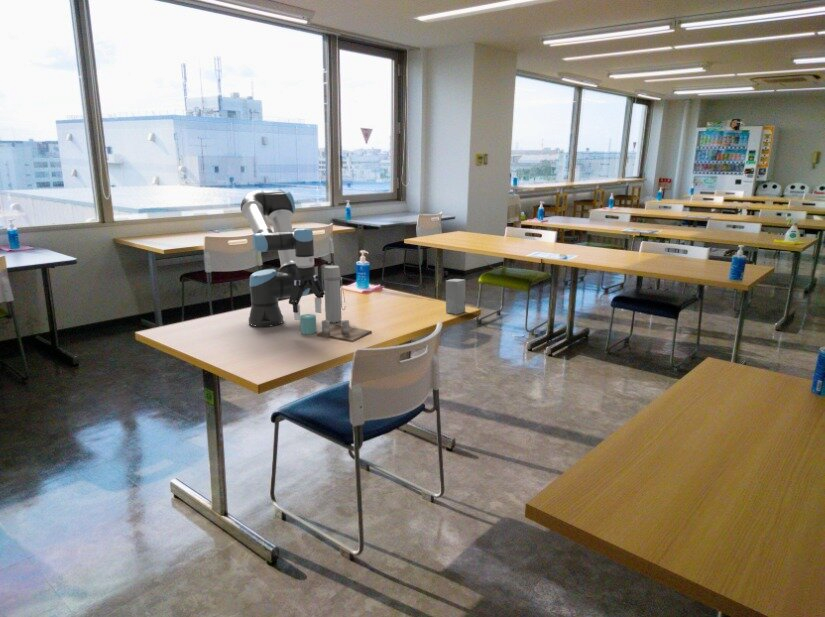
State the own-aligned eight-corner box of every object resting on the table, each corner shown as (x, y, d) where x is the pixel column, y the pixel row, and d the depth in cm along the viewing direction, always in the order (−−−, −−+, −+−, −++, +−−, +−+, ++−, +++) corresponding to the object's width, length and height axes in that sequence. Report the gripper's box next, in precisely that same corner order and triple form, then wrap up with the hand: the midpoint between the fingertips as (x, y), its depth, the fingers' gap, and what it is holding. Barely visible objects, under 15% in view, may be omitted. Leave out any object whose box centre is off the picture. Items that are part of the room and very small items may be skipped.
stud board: (316, 335, 231) (315, 320, 229) (337, 326, 243) (336, 312, 242) (351, 342, 222) (351, 326, 221) (371, 332, 235) (371, 318, 233)
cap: (297, 332, 235) (297, 316, 233) (307, 328, 240) (306, 313, 238) (309, 335, 232) (309, 318, 230) (319, 331, 237) (318, 315, 235)
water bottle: (326, 324, 247) (324, 268, 241) (324, 319, 255) (322, 265, 248) (347, 322, 250) (345, 267, 243) (344, 317, 257) (342, 264, 250)
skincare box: (456, 315, 261) (457, 282, 257) (444, 312, 265) (444, 280, 261) (466, 311, 268) (467, 279, 264) (453, 309, 272) (454, 277, 268)
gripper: (292, 271, 216) (295, 324, 221) (331, 262, 237) (333, 310, 243) (277, 270, 220) (281, 322, 225) (317, 261, 241) (319, 308, 246)
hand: (308, 316), depth 234 cm, fingers open, 13 cm apart
